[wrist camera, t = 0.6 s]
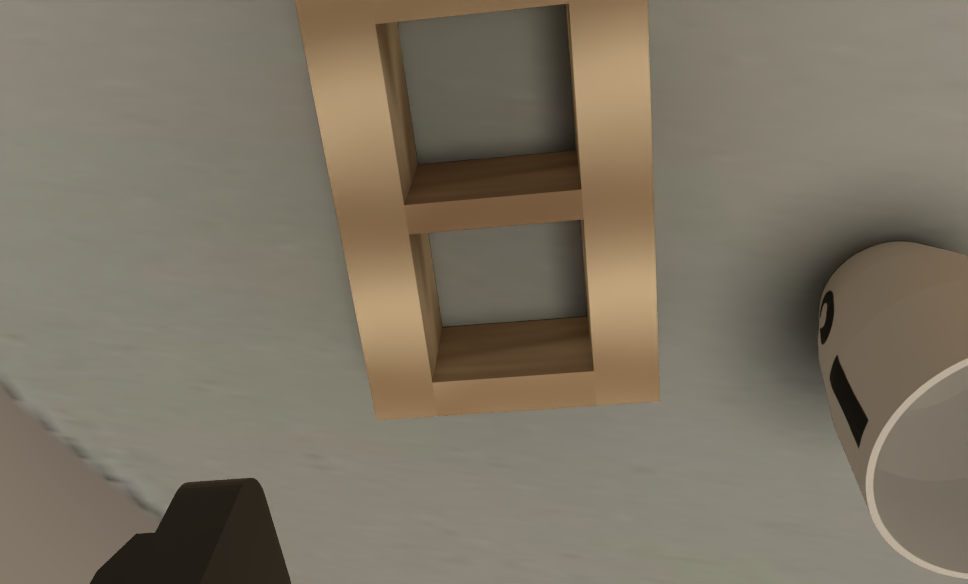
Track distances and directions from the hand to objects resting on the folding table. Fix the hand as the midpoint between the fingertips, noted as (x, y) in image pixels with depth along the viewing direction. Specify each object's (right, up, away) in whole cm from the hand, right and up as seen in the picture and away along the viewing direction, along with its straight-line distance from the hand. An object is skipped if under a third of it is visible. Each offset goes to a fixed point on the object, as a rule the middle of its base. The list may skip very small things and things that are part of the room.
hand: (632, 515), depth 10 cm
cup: (+14, +2, +24) cm, 28 cm away
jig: (-1, +7, +23) cm, 24 cm away
